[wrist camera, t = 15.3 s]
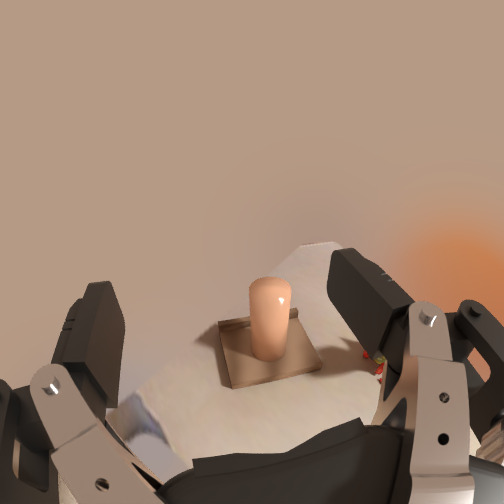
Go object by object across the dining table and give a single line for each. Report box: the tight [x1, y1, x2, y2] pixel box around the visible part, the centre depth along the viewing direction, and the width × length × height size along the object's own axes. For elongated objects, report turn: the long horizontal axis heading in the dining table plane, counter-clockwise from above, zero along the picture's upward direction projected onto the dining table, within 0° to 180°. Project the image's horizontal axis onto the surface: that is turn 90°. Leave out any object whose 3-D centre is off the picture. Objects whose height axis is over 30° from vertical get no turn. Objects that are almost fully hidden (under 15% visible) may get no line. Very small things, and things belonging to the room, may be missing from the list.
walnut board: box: [218, 308, 322, 389], centre depth 43 cm, size 14×12×3 cm
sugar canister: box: [249, 277, 291, 362], centre depth 39 cm, size 6×6×12 cm
